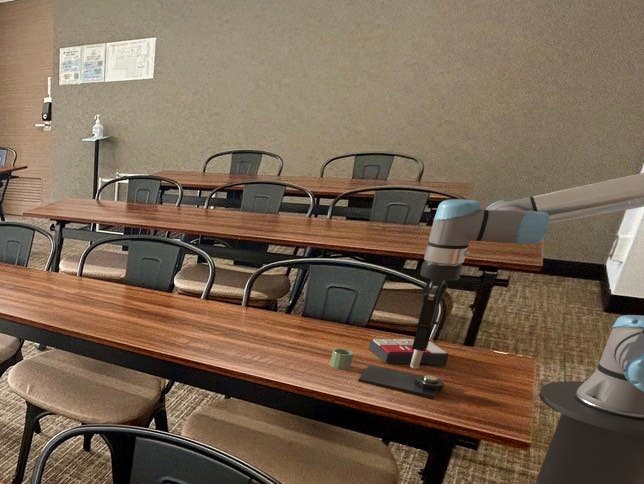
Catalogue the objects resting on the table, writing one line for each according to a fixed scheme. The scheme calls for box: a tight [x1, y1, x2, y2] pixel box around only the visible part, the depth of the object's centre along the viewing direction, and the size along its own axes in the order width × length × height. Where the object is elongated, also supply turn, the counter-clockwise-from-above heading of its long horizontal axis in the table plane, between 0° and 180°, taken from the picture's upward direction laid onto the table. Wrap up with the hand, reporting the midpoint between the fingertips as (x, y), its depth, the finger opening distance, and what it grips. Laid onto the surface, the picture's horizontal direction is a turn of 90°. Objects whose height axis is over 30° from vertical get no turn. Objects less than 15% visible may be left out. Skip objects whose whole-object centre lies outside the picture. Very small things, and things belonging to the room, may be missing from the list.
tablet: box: [357, 364, 445, 400], centre depth 157 cm, size 17×12×2 cm
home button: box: [423, 374, 439, 384], centre depth 153 cm, size 3×3×1 cm
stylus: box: [409, 349, 423, 370], centre depth 152 cm, size 2×2×15 cm
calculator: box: [368, 338, 450, 366], centre depth 171 cm, size 11×4×15 cm
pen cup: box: [329, 348, 354, 371], centre depth 168 cm, size 5×5×5 cm
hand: (419, 348), depth 153 cm, fingers closed on stylus, 2 cm apart
